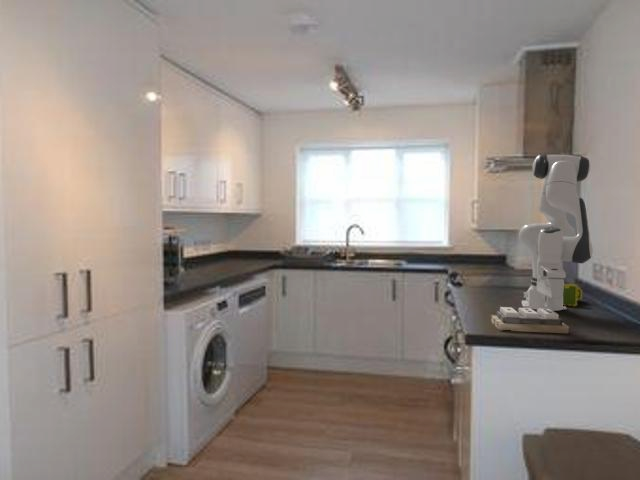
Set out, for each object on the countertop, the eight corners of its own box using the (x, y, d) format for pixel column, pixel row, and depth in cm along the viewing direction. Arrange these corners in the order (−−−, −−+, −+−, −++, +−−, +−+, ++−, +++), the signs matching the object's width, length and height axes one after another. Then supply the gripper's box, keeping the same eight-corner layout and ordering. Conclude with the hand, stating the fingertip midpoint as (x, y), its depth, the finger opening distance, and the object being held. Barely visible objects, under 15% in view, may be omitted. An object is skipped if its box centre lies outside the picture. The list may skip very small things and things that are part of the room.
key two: (518, 312, 194) (518, 307, 194) (530, 313, 193) (530, 307, 193) (525, 318, 183) (525, 312, 183) (538, 319, 182) (538, 313, 182)
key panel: (490, 321, 198) (491, 310, 198) (554, 323, 194) (554, 312, 194) (499, 330, 182) (499, 318, 182) (568, 333, 179) (568, 321, 178)
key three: (537, 313, 193) (537, 307, 193) (549, 313, 192) (549, 308, 192) (545, 319, 182) (545, 313, 182) (558, 319, 181) (558, 313, 181)
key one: (499, 312, 195) (499, 306, 195) (511, 312, 194) (511, 306, 194) (505, 317, 184) (506, 311, 184) (518, 318, 183) (518, 312, 183)
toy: (573, 281, 262) (586, 285, 233) (572, 301, 261) (586, 307, 233) (538, 280, 266) (547, 283, 238) (538, 299, 266) (547, 304, 237)
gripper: (532, 267, 197) (531, 302, 197) (548, 273, 177) (547, 312, 177) (549, 268, 196) (548, 302, 197) (567, 274, 176) (566, 312, 176)
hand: (548, 307), depth 187 cm, fingers closed
